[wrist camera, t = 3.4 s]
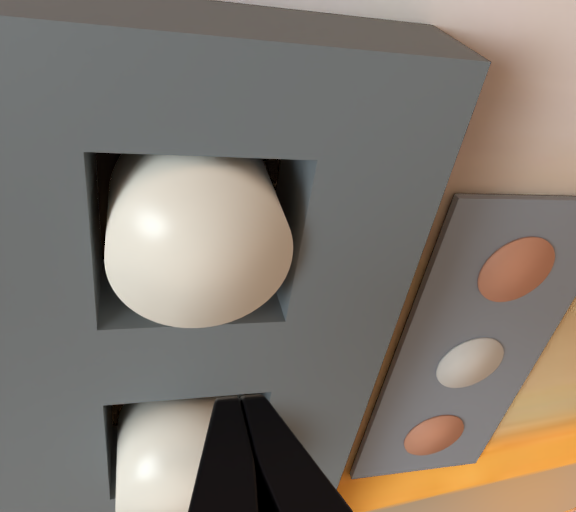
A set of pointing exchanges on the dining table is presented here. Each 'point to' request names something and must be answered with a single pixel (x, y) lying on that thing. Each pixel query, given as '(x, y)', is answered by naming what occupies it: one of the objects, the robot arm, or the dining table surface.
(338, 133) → the button board
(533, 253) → the pattern card
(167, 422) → the button middle
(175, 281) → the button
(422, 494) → the dining table surface
